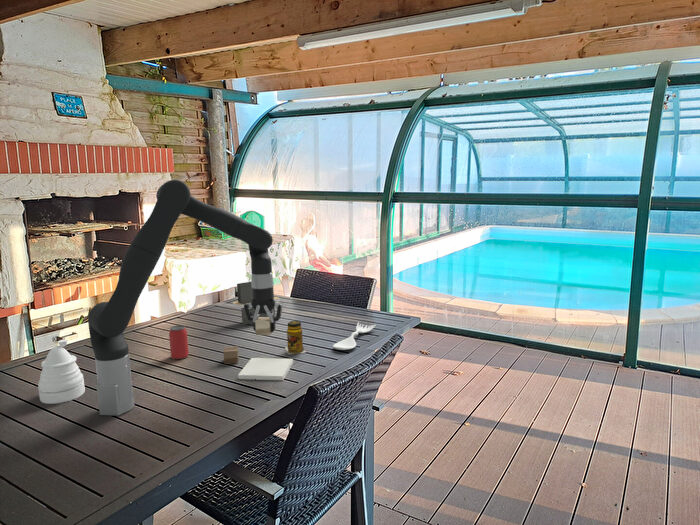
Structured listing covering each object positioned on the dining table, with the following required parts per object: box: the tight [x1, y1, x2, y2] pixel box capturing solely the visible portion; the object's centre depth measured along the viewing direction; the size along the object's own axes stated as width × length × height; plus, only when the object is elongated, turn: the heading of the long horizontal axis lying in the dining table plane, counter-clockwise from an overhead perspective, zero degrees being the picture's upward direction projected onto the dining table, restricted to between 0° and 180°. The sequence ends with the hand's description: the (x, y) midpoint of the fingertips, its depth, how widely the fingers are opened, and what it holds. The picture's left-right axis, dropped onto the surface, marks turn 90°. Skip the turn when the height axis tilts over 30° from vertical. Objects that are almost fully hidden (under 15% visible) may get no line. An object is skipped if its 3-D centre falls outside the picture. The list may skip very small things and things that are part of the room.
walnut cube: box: [223, 345, 240, 365], centre depth 188 cm, size 5×5×5 cm
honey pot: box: [37, 339, 86, 405], centre depth 160 cm, size 13×13×18 cm
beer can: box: [168, 325, 190, 360], centre depth 192 cm, size 7×7×12 cm
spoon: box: [332, 322, 377, 351], centre depth 209 cm, size 9×32×4 cm, turn 158°
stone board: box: [237, 357, 294, 381], centre depth 178 cm, size 16×16×2 cm
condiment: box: [284, 320, 307, 356], centre depth 197 cm, size 7×8×12 cm
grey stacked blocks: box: [232, 281, 280, 326], centre depth 237 cm, size 38×25×20 cm, turn 126°
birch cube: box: [255, 317, 272, 336], centre depth 175 cm, size 5×5×5 cm
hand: (264, 331), depth 176 cm, fingers closed on birch cube, 5 cm apart
